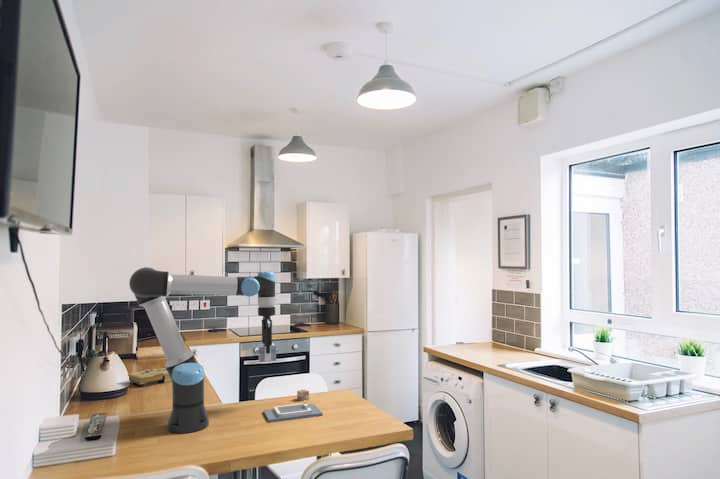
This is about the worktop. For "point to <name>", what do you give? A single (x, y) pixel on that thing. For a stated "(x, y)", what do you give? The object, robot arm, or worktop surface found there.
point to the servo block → (261, 353)
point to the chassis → (292, 412)
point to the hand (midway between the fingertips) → (266, 359)
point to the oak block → (302, 395)
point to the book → (150, 377)
